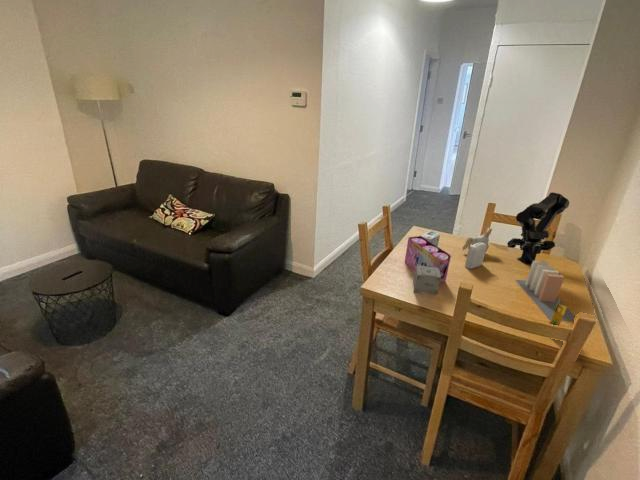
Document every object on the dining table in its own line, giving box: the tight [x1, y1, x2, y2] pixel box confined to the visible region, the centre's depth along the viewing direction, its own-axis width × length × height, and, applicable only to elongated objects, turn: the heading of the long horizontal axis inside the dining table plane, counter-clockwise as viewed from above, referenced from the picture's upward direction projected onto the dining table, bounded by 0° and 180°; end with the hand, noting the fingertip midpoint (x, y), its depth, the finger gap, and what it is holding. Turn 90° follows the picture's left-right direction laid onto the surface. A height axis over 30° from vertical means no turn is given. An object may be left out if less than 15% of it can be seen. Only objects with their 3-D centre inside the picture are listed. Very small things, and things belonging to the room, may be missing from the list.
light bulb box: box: [419, 230, 441, 247], centre depth 178 cm, size 11×7×11 cm, turn 134°
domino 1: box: [525, 260, 550, 286], centre depth 151 cm, size 2×6×12 cm, turn 85°
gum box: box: [404, 235, 452, 284], centre depth 158 cm, size 24×8×14 cm, turn 20°
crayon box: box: [548, 299, 568, 327], centre depth 122 cm, size 7×3×12 cm, turn 138°
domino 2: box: [529, 265, 555, 291], centre depth 147 cm, size 2×6×12 cm, turn 85°
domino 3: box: [534, 269, 560, 296], centre depth 143 cm, size 2×6×12 cm, turn 85°
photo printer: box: [464, 243, 487, 270], centre depth 167 cm, size 10×4×12 cm, turn 123°
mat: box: [515, 279, 576, 323], centre depth 143 cm, size 30×12×1 cm, turn 175°
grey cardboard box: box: [412, 265, 441, 295], centre depth 144 cm, size 10×8×10 cm
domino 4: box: [538, 274, 565, 302], centre depth 140 cm, size 2×6×12 cm, turn 85°
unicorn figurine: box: [462, 224, 493, 254], centre depth 181 cm, size 7×20×13 cm, turn 122°
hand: (532, 261), depth 154 cm, fingers closed
